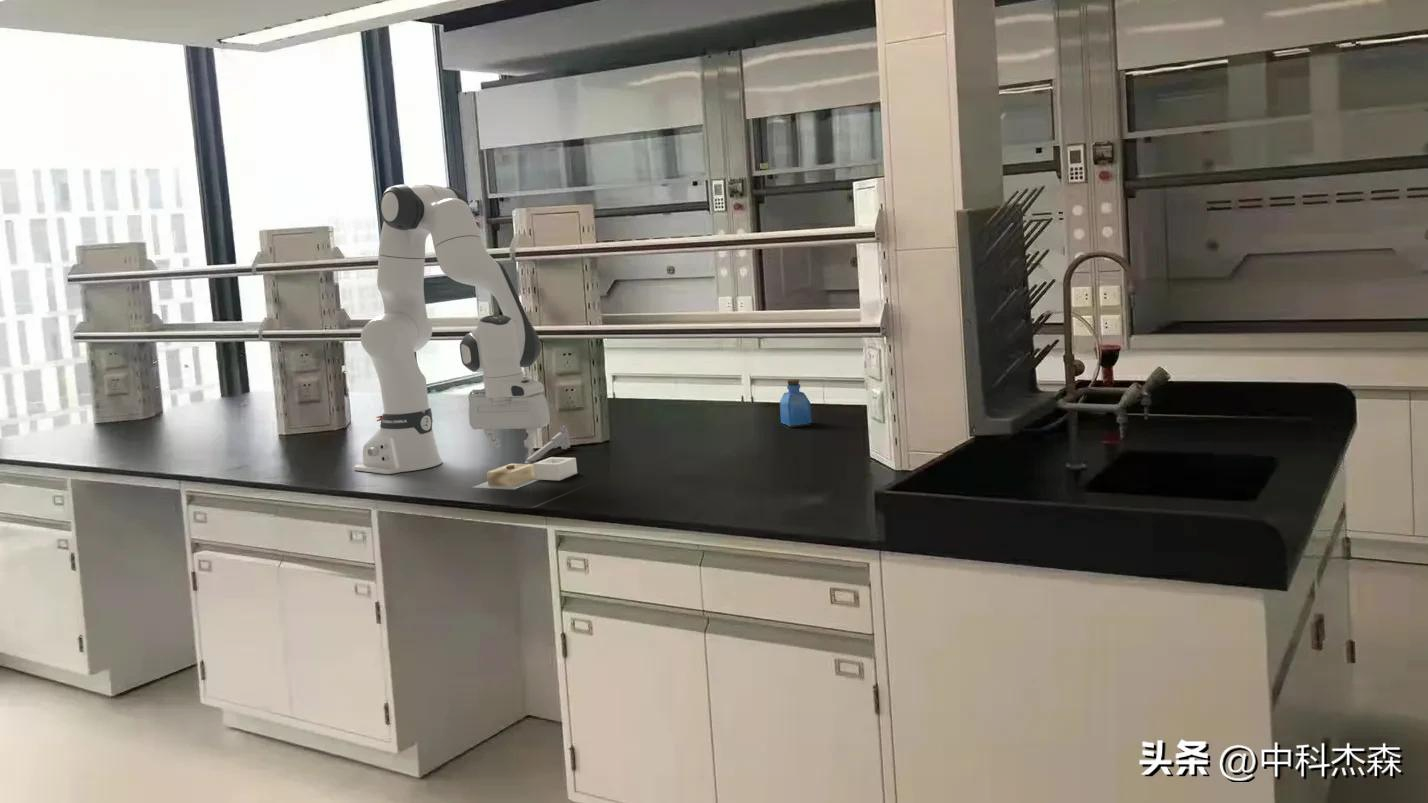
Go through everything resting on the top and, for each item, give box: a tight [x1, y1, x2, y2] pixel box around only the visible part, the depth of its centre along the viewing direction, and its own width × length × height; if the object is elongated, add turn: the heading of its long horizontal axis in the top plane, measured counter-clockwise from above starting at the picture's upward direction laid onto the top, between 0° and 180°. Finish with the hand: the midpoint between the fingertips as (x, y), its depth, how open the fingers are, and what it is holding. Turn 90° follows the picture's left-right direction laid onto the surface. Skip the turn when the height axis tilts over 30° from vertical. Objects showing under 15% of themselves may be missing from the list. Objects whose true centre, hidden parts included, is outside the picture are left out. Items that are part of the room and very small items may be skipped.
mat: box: [471, 478, 541, 490], centre depth 272 cm, size 12×14×1 cm
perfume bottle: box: [779, 379, 812, 426], centre depth 316 cm, size 6×6×12 cm
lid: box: [486, 463, 534, 486], centre depth 272 cm, size 6×9×4 cm
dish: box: [532, 456, 578, 481], centre depth 274 cm, size 7×7×4 cm
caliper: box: [524, 425, 571, 464], centre depth 301 cm, size 20×1×6 cm, turn 156°
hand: (512, 447), depth 271 cm, fingers open, 8 cm apart
